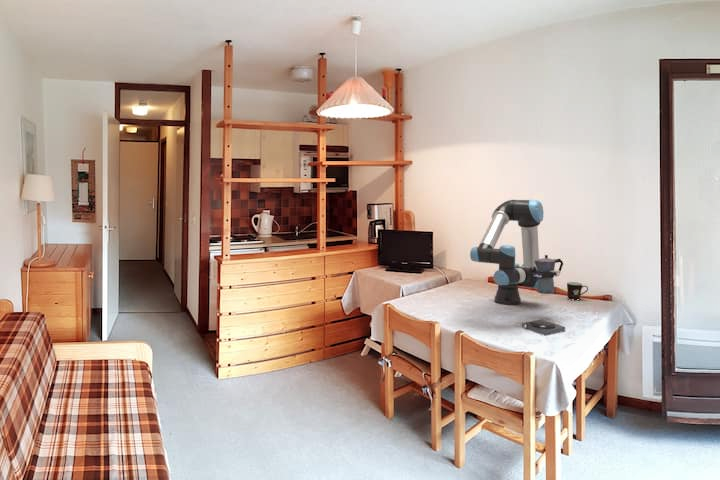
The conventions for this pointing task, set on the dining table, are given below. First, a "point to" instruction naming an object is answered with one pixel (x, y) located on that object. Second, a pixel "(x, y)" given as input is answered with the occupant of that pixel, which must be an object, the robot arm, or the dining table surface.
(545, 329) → the hot plate
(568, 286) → the coffee mug
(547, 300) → the dining table surface
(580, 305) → the dining table surface
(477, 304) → the dining table surface
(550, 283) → the moka pot
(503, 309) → the dining table surface
